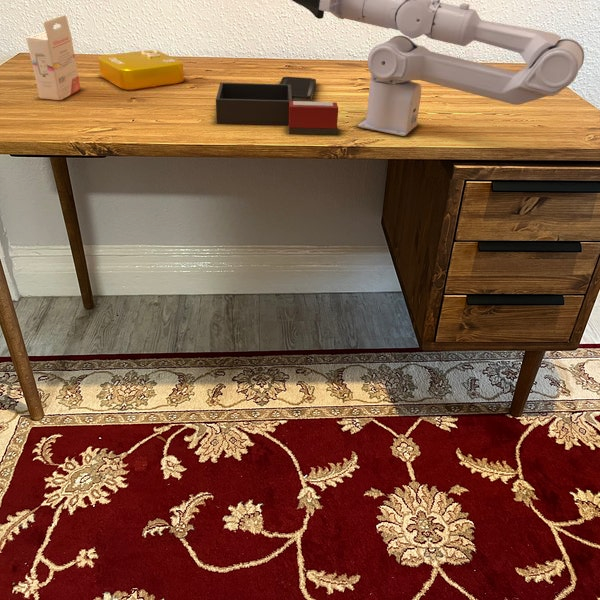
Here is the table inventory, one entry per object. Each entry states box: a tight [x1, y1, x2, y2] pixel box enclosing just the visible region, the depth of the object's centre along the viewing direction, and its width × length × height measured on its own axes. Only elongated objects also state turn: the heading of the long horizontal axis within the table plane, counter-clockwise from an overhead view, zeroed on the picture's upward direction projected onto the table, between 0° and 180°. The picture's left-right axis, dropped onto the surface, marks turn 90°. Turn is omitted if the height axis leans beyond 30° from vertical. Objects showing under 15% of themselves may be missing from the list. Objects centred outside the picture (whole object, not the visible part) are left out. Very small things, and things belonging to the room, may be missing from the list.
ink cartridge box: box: [25, 14, 81, 101], centre depth 120 cm, size 9×5×15 cm, turn 168°
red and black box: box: [288, 101, 339, 136], centre depth 109 cm, size 9×3×5 cm, turn 92°
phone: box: [279, 76, 317, 102], centre depth 131 cm, size 8×1×15 cm
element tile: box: [97, 49, 185, 91], centre depth 134 cm, size 15×15×5 cm
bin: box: [215, 82, 292, 126], centre depth 116 cm, size 14×12×4 cm
